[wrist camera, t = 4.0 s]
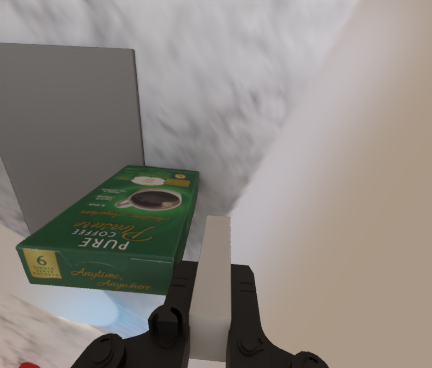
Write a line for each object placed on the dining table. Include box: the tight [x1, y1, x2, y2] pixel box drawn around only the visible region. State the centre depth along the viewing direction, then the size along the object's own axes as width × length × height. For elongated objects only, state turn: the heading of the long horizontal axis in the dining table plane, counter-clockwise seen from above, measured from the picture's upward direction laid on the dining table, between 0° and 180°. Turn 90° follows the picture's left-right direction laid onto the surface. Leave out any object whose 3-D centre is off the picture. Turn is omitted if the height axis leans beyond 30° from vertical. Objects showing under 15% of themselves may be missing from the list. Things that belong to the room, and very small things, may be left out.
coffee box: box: [16, 165, 199, 296], centre depth 16 cm, size 8×3×13 cm, turn 84°
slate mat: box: [0, 43, 145, 234], centre depth 22 cm, size 16×24×1 cm, turn 177°
